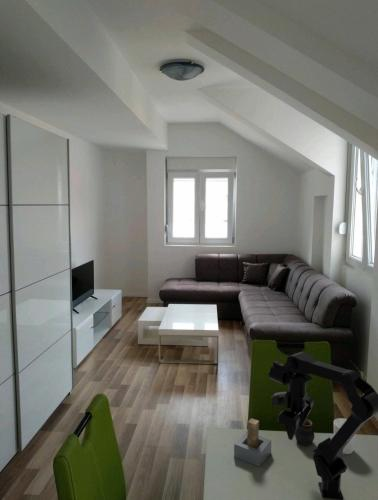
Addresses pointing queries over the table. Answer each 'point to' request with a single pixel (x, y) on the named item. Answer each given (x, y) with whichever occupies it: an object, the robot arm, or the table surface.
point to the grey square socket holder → (252, 450)
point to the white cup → (350, 446)
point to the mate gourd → (305, 433)
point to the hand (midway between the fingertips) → (295, 433)
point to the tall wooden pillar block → (253, 433)
